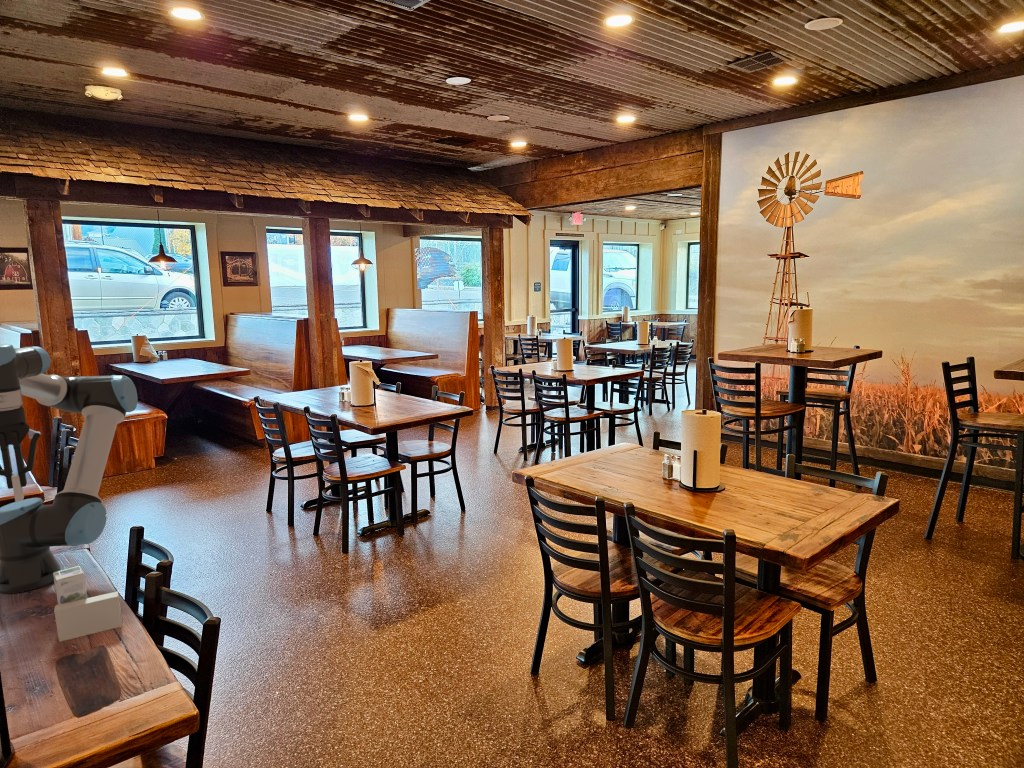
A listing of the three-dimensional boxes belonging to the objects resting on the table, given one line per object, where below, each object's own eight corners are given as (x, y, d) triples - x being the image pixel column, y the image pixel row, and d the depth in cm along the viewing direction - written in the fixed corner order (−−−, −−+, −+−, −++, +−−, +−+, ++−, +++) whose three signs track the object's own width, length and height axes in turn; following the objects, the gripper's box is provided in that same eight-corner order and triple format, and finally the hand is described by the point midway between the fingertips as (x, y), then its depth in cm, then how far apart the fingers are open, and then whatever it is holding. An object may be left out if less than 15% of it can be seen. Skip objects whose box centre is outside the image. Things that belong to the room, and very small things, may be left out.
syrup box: (87, 617, 169) (79, 564, 167) (92, 626, 165) (83, 571, 162) (61, 625, 166) (52, 571, 163) (64, 635, 161) (55, 579, 159)
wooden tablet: (125, 696, 136) (67, 711, 130) (125, 706, 137) (67, 722, 130) (105, 641, 157) (54, 653, 150) (105, 650, 157) (54, 662, 151)
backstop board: (60, 635, 161) (55, 605, 160) (122, 620, 167) (118, 591, 166) (59, 641, 158) (54, 610, 157) (122, 626, 165) (117, 596, 163)
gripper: (-33, 414, 157) (-16, 509, 161) (35, 407, 163) (49, 499, 167) (-26, 408, 163) (-11, 500, 168) (38, 402, 170) (52, 490, 174)
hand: (19, 499), depth 167 cm, fingers closed
